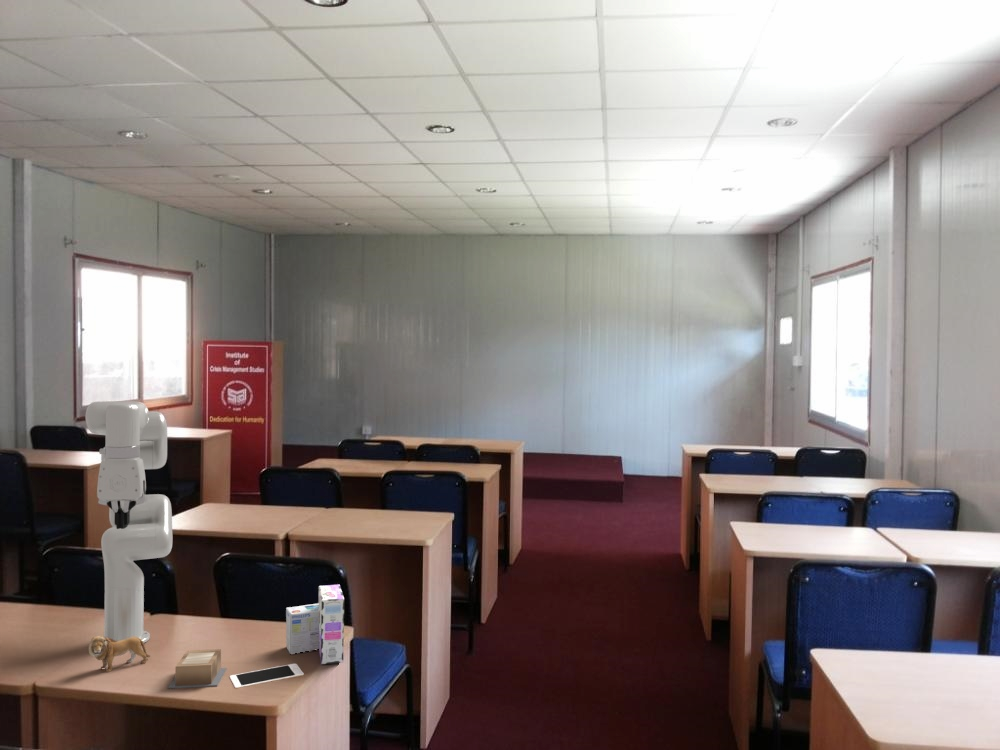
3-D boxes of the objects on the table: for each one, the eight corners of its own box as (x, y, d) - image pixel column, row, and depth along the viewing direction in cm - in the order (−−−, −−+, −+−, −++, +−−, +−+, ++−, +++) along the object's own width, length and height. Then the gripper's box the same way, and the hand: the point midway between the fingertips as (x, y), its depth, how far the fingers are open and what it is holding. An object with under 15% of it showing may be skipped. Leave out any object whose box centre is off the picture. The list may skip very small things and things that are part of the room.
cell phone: (304, 676, 181) (304, 673, 181) (235, 690, 173) (235, 687, 173) (295, 665, 188) (295, 663, 188) (229, 678, 180) (229, 675, 180)
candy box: (344, 663, 188) (344, 598, 188) (320, 665, 186) (320, 600, 186) (340, 643, 201) (340, 583, 201) (317, 645, 200) (318, 584, 199)
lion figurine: (92, 678, 178) (93, 641, 178) (84, 672, 181) (84, 635, 181) (154, 661, 189) (154, 625, 189) (145, 655, 192) (145, 621, 192)
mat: (179, 671, 182) (179, 670, 182) (226, 669, 184) (226, 667, 184) (167, 688, 172) (167, 687, 172) (217, 686, 174) (217, 684, 174)
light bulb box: (324, 640, 204) (325, 601, 204) (330, 648, 198) (331, 608, 198) (284, 646, 199) (285, 606, 199) (289, 655, 193) (290, 614, 193)
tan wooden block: (187, 650, 183) (175, 666, 173) (220, 648, 184) (211, 664, 174) (187, 668, 183) (175, 685, 173) (220, 667, 184) (211, 684, 174)
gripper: (83, 455, 178) (83, 531, 178) (149, 454, 180) (149, 530, 180) (96, 451, 185) (95, 525, 185) (159, 451, 188) (158, 524, 188)
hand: (122, 527), depth 183 cm, fingers closed
